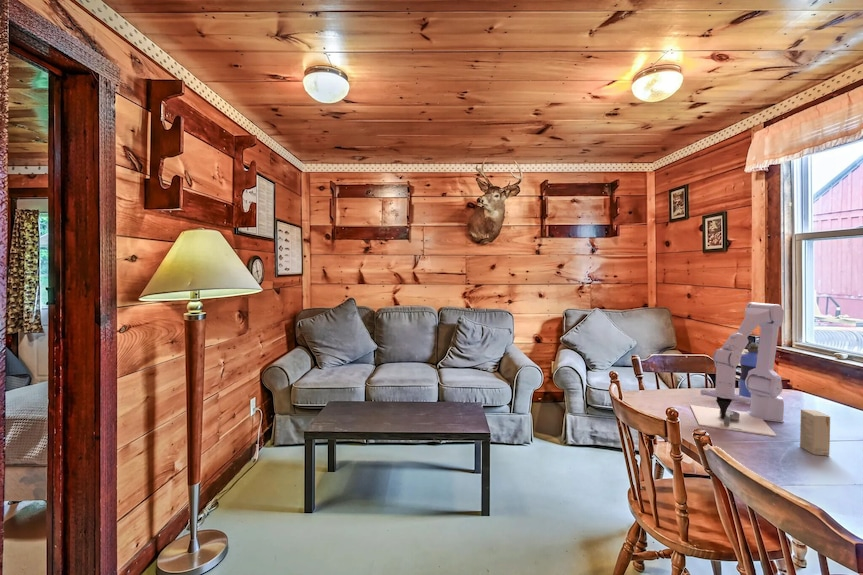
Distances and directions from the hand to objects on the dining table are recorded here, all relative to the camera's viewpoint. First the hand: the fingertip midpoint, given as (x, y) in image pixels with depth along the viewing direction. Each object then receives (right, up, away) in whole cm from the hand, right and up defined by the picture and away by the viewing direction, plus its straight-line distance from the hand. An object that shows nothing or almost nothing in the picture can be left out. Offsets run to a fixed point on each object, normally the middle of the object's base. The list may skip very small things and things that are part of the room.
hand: (723, 418), depth 144 cm
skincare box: (+13, -4, -21) cm, 25 cm away
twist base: (+5, -2, +4) cm, 7 cm away
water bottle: (+32, -1, +26) cm, 41 cm away
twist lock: (+3, -1, +2) cm, 4 cm away
